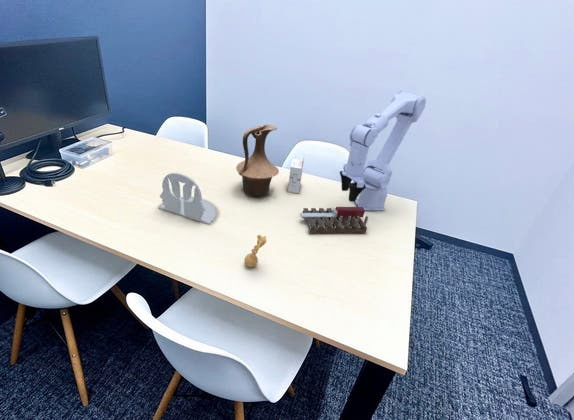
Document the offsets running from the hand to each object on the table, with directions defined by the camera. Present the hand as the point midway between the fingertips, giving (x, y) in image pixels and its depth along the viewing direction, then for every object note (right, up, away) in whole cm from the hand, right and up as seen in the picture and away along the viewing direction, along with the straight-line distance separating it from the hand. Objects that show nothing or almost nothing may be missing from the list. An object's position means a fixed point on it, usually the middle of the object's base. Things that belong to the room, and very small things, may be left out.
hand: (348, 195), depth 120 cm
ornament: (-57, -5, +5) cm, 58 cm away
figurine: (-35, -22, -21) cm, 46 cm away
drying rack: (-5, -10, +1) cm, 12 cm away
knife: (-6, -7, 0) cm, 9 cm away
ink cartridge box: (-17, +4, +23) cm, 28 cm away
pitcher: (-33, +2, +19) cm, 38 cm away
